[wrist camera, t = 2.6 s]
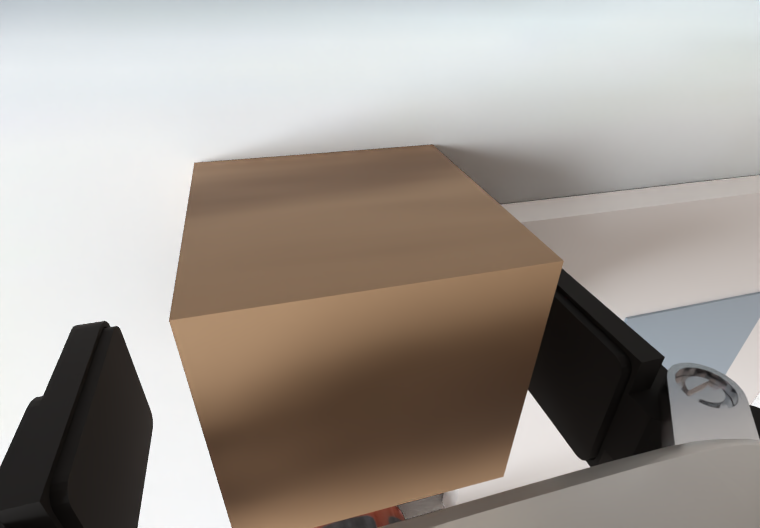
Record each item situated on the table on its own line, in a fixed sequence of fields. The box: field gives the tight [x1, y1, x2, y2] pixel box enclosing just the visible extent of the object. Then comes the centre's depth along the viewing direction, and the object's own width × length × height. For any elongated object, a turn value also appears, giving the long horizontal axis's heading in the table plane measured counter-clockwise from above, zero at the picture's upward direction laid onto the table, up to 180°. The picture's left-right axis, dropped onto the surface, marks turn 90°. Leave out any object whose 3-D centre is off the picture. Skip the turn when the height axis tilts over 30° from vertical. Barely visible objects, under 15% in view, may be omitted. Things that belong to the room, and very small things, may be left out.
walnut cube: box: [169, 145, 564, 528], centre depth 11 cm, size 6×6×6 cm
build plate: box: [442, 175, 760, 508], centre depth 19 cm, size 16×16×1 cm
